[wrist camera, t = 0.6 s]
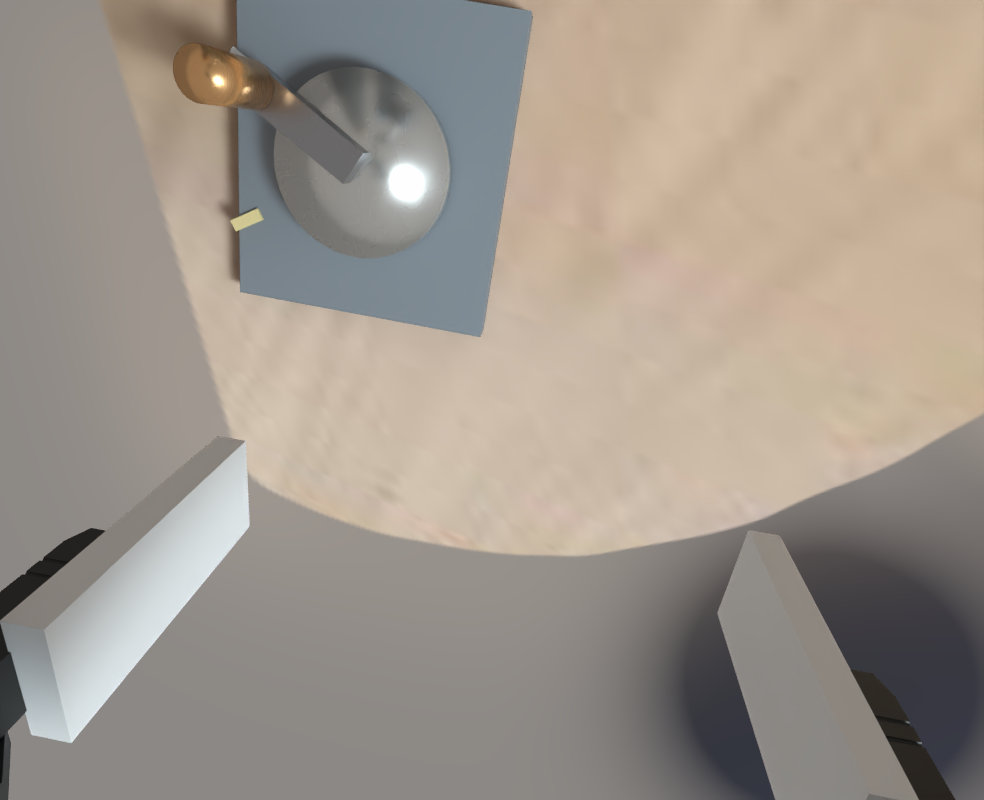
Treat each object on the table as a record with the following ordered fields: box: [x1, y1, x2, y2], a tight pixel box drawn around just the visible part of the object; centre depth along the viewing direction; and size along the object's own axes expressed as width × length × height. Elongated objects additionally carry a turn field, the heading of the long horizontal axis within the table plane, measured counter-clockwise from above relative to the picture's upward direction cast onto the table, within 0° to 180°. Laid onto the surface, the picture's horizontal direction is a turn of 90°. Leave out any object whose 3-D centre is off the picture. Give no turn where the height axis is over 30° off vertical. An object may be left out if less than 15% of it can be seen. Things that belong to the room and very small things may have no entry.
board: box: [230, 0, 533, 337], centre depth 36 cm, size 18×16×2 cm
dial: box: [173, 43, 452, 259], centre depth 31 cm, size 10×12×8 cm
